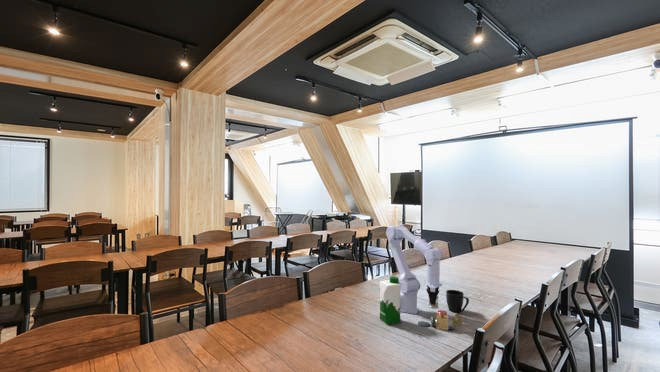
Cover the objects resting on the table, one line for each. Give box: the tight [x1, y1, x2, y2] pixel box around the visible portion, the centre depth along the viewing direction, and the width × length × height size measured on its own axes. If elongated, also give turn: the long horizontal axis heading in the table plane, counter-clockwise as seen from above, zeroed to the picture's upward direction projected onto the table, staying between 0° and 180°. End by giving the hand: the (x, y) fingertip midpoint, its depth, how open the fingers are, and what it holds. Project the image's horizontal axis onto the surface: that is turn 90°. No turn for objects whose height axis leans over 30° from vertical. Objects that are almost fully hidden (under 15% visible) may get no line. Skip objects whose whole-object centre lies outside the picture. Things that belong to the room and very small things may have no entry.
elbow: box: [450, 313, 463, 326], centre depth 137 cm, size 4×2×4 cm, turn 88°
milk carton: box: [379, 276, 402, 326], centre depth 139 cm, size 9×9×20 cm
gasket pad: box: [417, 320, 432, 328], centre depth 136 cm, size 6×6×1 cm
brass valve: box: [430, 309, 454, 331], centre depth 133 cm, size 9×5×7 cm, turn 68°
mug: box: [445, 289, 470, 314], centre depth 151 cm, size 8×12×10 cm
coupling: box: [428, 295, 440, 310], centre depth 140 cm, size 4×4×5 cm
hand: (432, 302), depth 140 cm, fingers closed on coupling, 4 cm apart
